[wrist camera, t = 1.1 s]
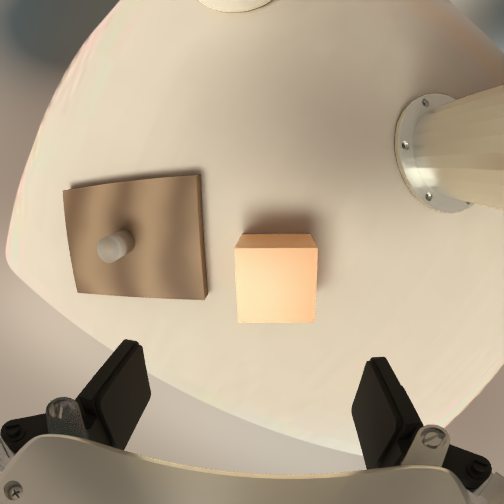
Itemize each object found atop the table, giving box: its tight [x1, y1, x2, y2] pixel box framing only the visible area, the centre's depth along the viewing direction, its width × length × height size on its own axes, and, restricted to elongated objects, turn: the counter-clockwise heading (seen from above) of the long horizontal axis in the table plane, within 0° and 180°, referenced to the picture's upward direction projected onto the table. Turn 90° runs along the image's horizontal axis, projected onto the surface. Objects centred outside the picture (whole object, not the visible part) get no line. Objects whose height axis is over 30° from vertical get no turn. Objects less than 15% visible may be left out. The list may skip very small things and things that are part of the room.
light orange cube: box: [234, 234, 318, 323], centre depth 26 cm, size 6×6×6 cm
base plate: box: [63, 175, 208, 300], centre depth 26 cm, size 16×12×5 cm
